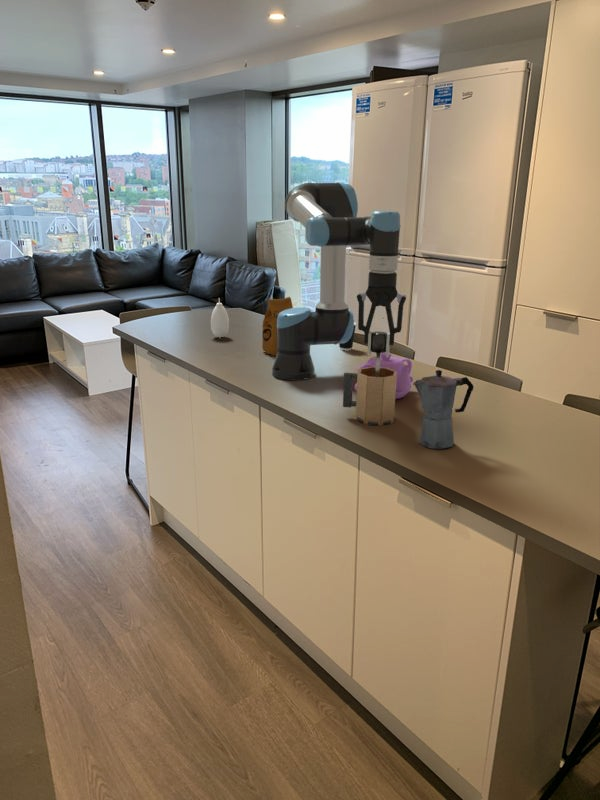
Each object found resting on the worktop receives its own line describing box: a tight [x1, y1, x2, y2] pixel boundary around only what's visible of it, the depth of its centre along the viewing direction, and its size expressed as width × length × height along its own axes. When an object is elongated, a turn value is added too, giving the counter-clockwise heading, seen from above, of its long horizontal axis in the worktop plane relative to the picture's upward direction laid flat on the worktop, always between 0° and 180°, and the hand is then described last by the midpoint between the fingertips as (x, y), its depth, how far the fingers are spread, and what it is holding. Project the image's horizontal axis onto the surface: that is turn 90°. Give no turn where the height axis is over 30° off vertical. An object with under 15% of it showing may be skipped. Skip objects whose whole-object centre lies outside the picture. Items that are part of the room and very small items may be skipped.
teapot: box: [354, 352, 414, 400], centre depth 192 cm, size 22×22×14 cm
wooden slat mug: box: [342, 367, 397, 427], centre depth 174 cm, size 15×11×14 cm
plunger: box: [371, 331, 388, 377], centre depth 170 cm, size 8×8×18 cm
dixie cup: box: [338, 321, 357, 352], centre depth 249 cm, size 8×8×11 cm
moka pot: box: [412, 369, 474, 450], centre depth 156 cm, size 10×15×20 cm, turn 95°
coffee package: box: [261, 296, 294, 356], centre depth 242 cm, size 10×12×22 cm
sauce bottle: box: [210, 298, 230, 338], centre depth 265 cm, size 8×8×18 cm
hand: (378, 355), depth 170 cm, fingers closed on plunger, 4 cm apart
